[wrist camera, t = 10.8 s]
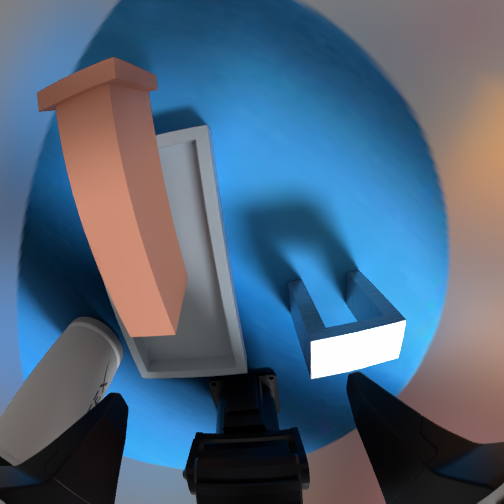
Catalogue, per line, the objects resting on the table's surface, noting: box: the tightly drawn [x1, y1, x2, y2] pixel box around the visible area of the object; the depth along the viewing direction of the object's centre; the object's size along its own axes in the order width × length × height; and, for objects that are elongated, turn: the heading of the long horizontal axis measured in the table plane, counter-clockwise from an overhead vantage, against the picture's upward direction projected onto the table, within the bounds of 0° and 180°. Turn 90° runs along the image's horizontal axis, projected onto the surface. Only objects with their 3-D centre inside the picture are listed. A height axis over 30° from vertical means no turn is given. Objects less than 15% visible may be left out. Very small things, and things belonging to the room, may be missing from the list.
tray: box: [103, 125, 247, 378], centre depth 20 cm, size 19×10×2 cm, turn 7°
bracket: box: [288, 270, 406, 379], centre depth 18 cm, size 3×6×8 cm, turn 97°
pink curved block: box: [37, 57, 188, 337], centre depth 14 cm, size 14×4×7 cm, turn 7°
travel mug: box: [0, 317, 123, 466], centre depth 13 cm, size 6×7×20 cm
